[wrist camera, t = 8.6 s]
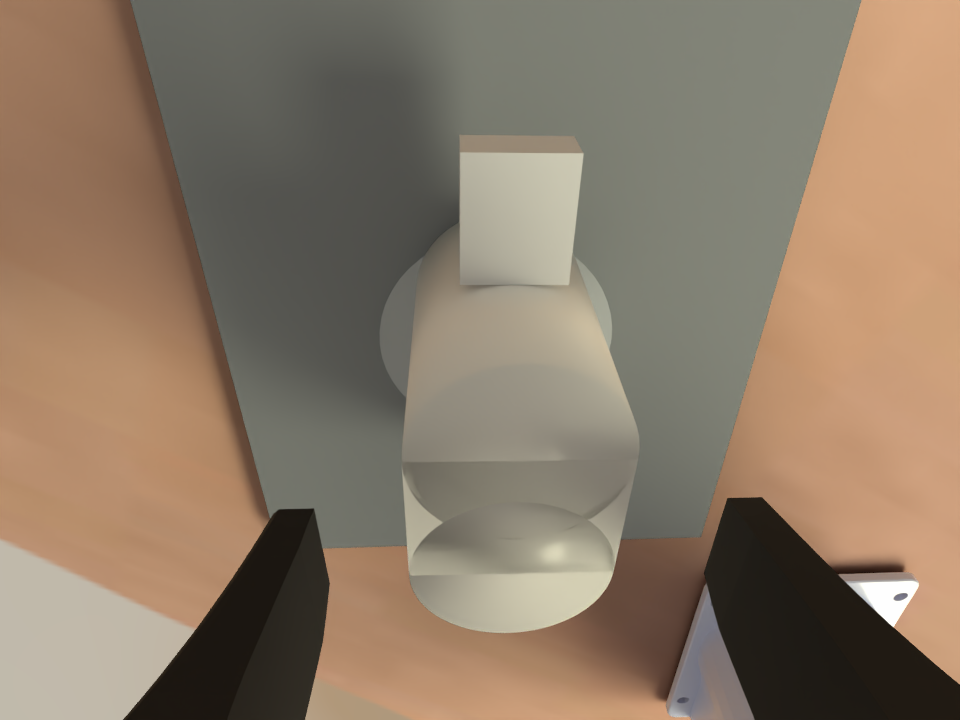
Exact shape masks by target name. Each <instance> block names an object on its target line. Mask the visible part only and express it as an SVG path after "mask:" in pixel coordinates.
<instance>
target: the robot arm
mask: <svg viewBox="0 0 960 720" xmlns="http://www.w3.org/2000/svg"><path fill="white" fill-rule="evenodd" d="M704 575H705V579H706V585H705V586H704V588H703V591H702V595H701V598H700V601H699V604H698V607H697V610H696V613H695V616H694V619H693V622H692V625H691V628H690V632H689V635H688V638H687V641H686V644H685V647H684V650H683V653H682V656H681V659H680V662H679V665H678V668H677V672H676V675H675V678H674V681H673V684H672V687H671V690H670V693H669V696H668V699H667V702H666V709H667V712H668V714H669V715H670V716H672V717H690V718H691V720H960V685H959V684H958V683H957V682H956V681H955V680H953V679H952V678H951V677H950V676H949V675H947V674H946V673H945V672H944V671H943V670H941V669H940V668H939V667H938V666H937V665H935V664H934V663H933V662H932V661H931V660H930V659H928V658H927V657H926V656H925V655H924V654H923V653H922V652H921V651H919V650H918V649H917V648H916V647H915V646H914V645H913V644H912V643H910V642H909V641H908V640H907V639H906V638H905V637H904V636H902V635H901V634H900V633H899V632H898V631H897V630H896V629H895V628H893V626H894V625H895V623H896V622H897V620H898V619H899V617H900V615H901V614H902V612H903V611H904V609H905V607H906V606H907V604H908V603H909V601H910V599H911V598H912V596H913V595H914V593H915V592H916V590H917V588H918V586H919V583H918V581H917V579H916V578H915V576H914V575H913V574H911V573H909V572H888V573H857V574H837V573H836V572H835V571H834V570H833V569H832V568H831V567H830V566H829V565H828V564H827V563H826V562H825V561H824V560H823V559H822V558H821V557H820V556H819V555H818V554H817V553H816V552H815V551H814V550H813V549H812V548H811V547H810V546H809V545H808V544H807V543H806V542H805V541H804V540H803V539H802V538H801V537H800V536H799V535H798V534H797V533H796V532H795V531H794V530H793V529H792V528H791V527H790V526H789V525H788V523H787V522H786V521H785V520H784V519H783V518H782V517H781V516H780V515H779V514H778V513H777V512H776V511H775V510H774V509H773V508H772V507H771V506H770V505H769V504H768V503H767V502H766V501H765V500H764V499H763V498H762V497H758V498H727V501H726V505H725V508H724V511H723V514H722V517H721V521H720V524H719V527H718V530H717V533H716V536H715V540H714V543H713V546H712V549H711V552H710V556H709V559H708V562H707V565H706V568H705V571H704ZM329 585H330V583H329V578H328V573H327V568H326V563H325V558H324V554H323V549H322V544H321V539H320V534H319V529H318V525H317V520H316V515H315V510H314V508H310V509H278V510H277V511H276V512H275V513H274V514H273V515H272V517H271V518H270V520H269V522H268V523H267V525H266V527H265V528H264V530H263V532H262V533H261V535H260V536H259V538H258V540H257V541H256V543H255V544H254V546H253V548H252V549H251V551H250V552H249V554H248V555H247V557H246V558H245V560H244V562H243V563H242V565H241V566H240V568H239V569H238V571H237V572H236V574H235V575H234V577H233V578H232V580H231V581H230V582H229V584H228V585H227V587H226V588H225V590H224V591H223V592H222V594H221V595H220V597H219V598H218V599H217V601H216V602H215V604H214V605H213V607H212V608H211V609H210V611H209V612H208V614H207V615H206V616H205V618H204V619H203V621H202V622H201V623H200V625H199V626H198V627H197V629H196V630H195V631H194V633H193V634H192V635H191V637H190V638H189V639H188V641H187V642H186V643H185V645H184V646H183V647H182V648H181V650H180V651H179V652H178V653H177V655H176V656H175V657H174V659H173V660H172V661H171V663H170V664H169V665H168V666H167V668H166V669H165V670H164V672H163V673H162V674H161V675H160V676H159V678H158V679H157V680H156V681H155V683H154V684H153V685H152V686H151V687H150V689H149V690H148V691H147V692H146V693H145V695H144V696H143V697H142V698H141V699H140V701H139V702H138V703H137V704H136V705H135V706H134V708H133V709H132V710H131V711H130V712H129V714H128V715H127V716H126V717H125V718H124V719H123V720H305V717H306V713H307V708H308V704H309V700H310V695H311V691H312V687H313V683H314V678H315V674H316V670H317V665H318V661H319V656H320V652H321V647H322V643H323V636H324V628H325V620H326V612H327V603H328V594H329Z"/></svg>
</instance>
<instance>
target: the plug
mask: <svg viewBox="0 0 960 720" xmlns="http://www.w3.org/2000/svg"><path fill="white" fill-rule="evenodd" d="M583 155H584V153H583V151H582V150H581V148H580V146H579V144H578V143H577V141H576V139H575V137H574V136H524V135H459V223H457V224H455V225H454V226H452V227H451V228H449V229H448V230H446V231H445V232H444V233H443V234H442V235H440V236H439V237H438V238H437V240H436V241H435V242H434V243H433V244H432V245H431V247H430V248H429V250H428V251H427V252H426V254H425V256H424V258H423V260H422V263H421V266H420V269H419V272H418V278H417V286H416V297H415V308H414V320H413V331H412V342H411V353H410V364H409V376H408V387H407V398H406V409H405V421H404V432H403V443H402V477H403V491H404V506H405V521H406V536H407V551H408V566H409V578H410V583H411V586H412V589H413V591H414V593H415V595H416V596H417V598H418V600H419V601H420V602H421V603H422V604H423V605H424V606H425V607H426V608H427V609H428V610H429V611H430V612H432V613H433V614H435V615H436V616H438V617H439V618H441V619H443V620H445V621H447V622H449V623H452V624H454V625H457V626H460V627H463V628H467V629H471V630H476V631H482V632H491V633H516V632H525V631H532V630H537V629H542V628H546V627H549V626H552V625H555V624H558V623H561V622H563V621H566V620H568V619H570V618H572V617H574V616H576V615H577V614H579V613H581V612H582V611H584V610H585V609H587V608H588V607H589V606H590V605H592V604H593V603H594V602H595V601H596V600H597V599H598V598H599V597H600V596H601V595H602V594H603V592H604V591H605V590H606V588H607V586H608V585H609V583H610V581H611V578H612V575H613V572H614V568H615V563H616V558H617V554H618V549H619V545H620V540H621V536H622V531H623V526H624V522H625V517H626V513H627V508H628V504H629V499H630V494H631V490H632V485H633V481H634V476H635V472H636V467H637V462H638V457H639V449H640V445H639V434H638V430H637V425H636V422H635V420H634V417H633V414H632V411H631V409H630V406H629V403H628V401H627V398H626V395H625V392H624V390H623V387H622V384H621V381H620V379H619V376H618V373H617V370H616V368H615V365H614V362H613V359H612V357H611V354H610V351H609V349H608V346H607V343H606V340H605V338H604V335H603V332H602V329H601V327H600V324H599V321H598V318H597V316H596V313H595V310H594V308H593V305H592V302H591V299H590V297H589V294H588V291H587V288H586V286H585V283H584V280H583V277H582V275H581V272H580V269H579V266H578V264H577V261H576V259H575V256H574V254H573V244H574V235H575V226H576V217H577V208H578V199H579V190H580V181H581V173H582V164H583Z"/></svg>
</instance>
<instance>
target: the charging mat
mask: <svg viewBox="0 0 960 720" xmlns="http://www.w3.org/2000/svg"><path fill="white" fill-rule="evenodd" d="M130 1H131V5H132V8H133V12H134V16H135V19H136V23H137V27H138V31H139V34H140V38H141V42H142V45H143V49H144V53H145V57H146V60H147V64H148V68H149V71H150V75H151V79H152V83H153V86H154V90H155V94H156V97H157V101H158V105H159V109H160V112H161V116H162V120H163V123H164V127H165V131H166V134H167V138H168V142H169V146H170V149H171V153H172V157H173V160H174V164H175V168H176V172H177V175H178V179H179V183H180V186H181V190H182V194H183V198H184V201H185V205H186V209H187V212H188V216H189V220H190V224H191V227H192V231H193V235H194V238H195V242H196V246H197V250H198V253H199V257H200V261H201V264H202V268H203V272H204V276H205V279H206V283H207V287H208V290H209V294H210V298H211V301H212V305H213V309H214V313H215V316H216V320H217V324H218V327H219V331H220V335H221V339H222V342H223V346H224V350H225V353H226V357H227V361H228V365H229V368H230V372H231V376H232V379H233V383H234V387H235V391H236V394H237V398H238V402H239V405H240V409H241V413H242V417H243V420H244V424H245V428H246V431H247V435H248V439H249V443H250V446H251V450H252V454H253V457H254V461H255V465H256V468H257V472H258V476H259V480H260V483H261V487H262V491H263V494H264V498H265V502H266V506H267V509H268V513H269V517H270V518H271V517H272V515H273V514H274V513H275V512H276V511H277V510H278V509H310V508H314V510H315V515H316V520H317V525H318V529H319V534H320V539H321V544H322V548H351V547H385V546H407V536H406V521H405V506H404V491H403V477H402V443H403V432H404V421H405V409H406V398H407V387H408V376H409V364H410V353H411V342H412V331H413V320H414V308H415V297H416V286H417V278H418V272H419V269H420V266H421V263H422V260H423V258H424V256H425V254H426V252H427V251H428V250H429V248H430V247H431V245H432V244H433V243H434V242H435V241H436V240H437V238H438V237H439V236H440V235H442V234H443V233H444V232H445V231H446V230H448V229H449V228H451V227H452V226H454V225H455V224H457V223H459V135H524V136H574V137H575V139H576V141H577V143H578V144H579V146H580V148H581V150H582V151H583V153H584V155H583V164H582V173H581V181H580V190H579V199H578V208H577V217H576V226H575V235H574V244H573V254H574V256H575V259H576V261H577V264H578V266H579V269H580V272H581V275H582V277H583V280H584V283H585V286H586V288H587V291H588V294H589V297H590V299H591V302H592V305H593V308H594V310H595V313H596V316H597V318H598V321H599V324H600V327H601V329H602V332H603V335H604V338H605V340H606V343H607V346H608V349H609V351H610V354H611V357H612V359H613V362H614V365H615V368H616V370H617V373H618V376H619V379H620V381H621V384H622V387H623V390H624V392H625V395H626V398H627V401H628V403H629V406H630V409H631V411H632V414H633V417H634V420H635V422H636V425H637V430H638V434H639V445H640V449H639V457H638V462H637V467H636V472H635V476H634V481H633V485H632V490H631V494H630V499H629V504H628V508H627V513H626V517H625V522H624V526H623V531H622V536H621V540H622V539H656V538H690V537H701V535H702V532H703V528H704V525H705V522H706V518H707V515H708V512H709V508H710V505H711V502H712V498H713V495H714V492H715V488H716V485H717V482H718V478H719V475H720V471H721V468H722V465H723V461H724V458H725V455H726V451H727V448H728V445H729V441H730V438H731V435H732V431H733V428H734V425H735V421H736V418H737V415H738V411H739V408H740V405H741V401H742V398H743V395H744V391H745V388H746V385H747V381H748V378H749V374H750V371H751V368H752V364H753V361H754V358H755V354H756V351H757V348H758V344H759V341H760V338H761V334H762V331H763V328H764V324H765V321H766V318H767V314H768V311H769V308H770V304H771V301H772V298H773V294H774V291H775V288H776V284H777V281H778V277H779V274H780V271H781V267H782V264H783V261H784V257H785V254H786V251H787V247H788V244H789V241H790V237H791V234H792V231H793V227H794V224H795V221H796V217H797V214H798V211H799V207H800V204H801V201H802V197H803V194H804V191H805V187H806V184H807V180H808V177H809V174H810V170H811V167H812V164H813V160H814V157H815V154H816V150H817V147H818V144H819V140H820V137H821V134H822V130H823V127H824V124H825V120H826V117H827V114H828V110H829V107H830V104H831V100H832V97H833V94H834V90H835V87H836V83H837V80H838V77H839V73H840V70H841V67H842V63H843V60H844V57H845V53H846V50H847V47H848V43H849V40H850V37H851V33H852V30H853V27H854V23H855V20H856V17H857V13H858V10H859V7H860V3H861V0H130Z"/></svg>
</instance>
